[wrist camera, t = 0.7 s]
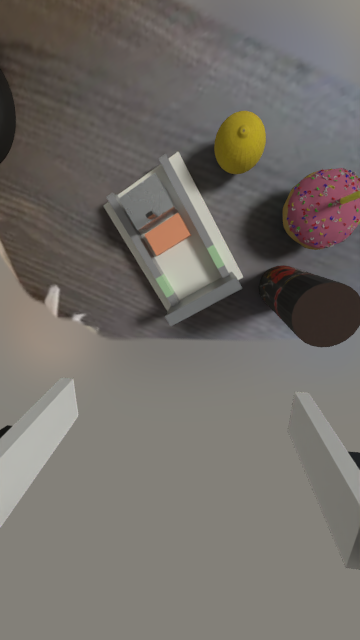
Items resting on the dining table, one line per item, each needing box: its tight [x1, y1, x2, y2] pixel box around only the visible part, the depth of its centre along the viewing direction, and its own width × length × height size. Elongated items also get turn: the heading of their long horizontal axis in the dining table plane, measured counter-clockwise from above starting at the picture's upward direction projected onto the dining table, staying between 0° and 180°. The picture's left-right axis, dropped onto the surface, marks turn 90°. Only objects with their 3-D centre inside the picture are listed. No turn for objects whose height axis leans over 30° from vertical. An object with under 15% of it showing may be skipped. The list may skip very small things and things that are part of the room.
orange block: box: [145, 213, 192, 256], centre depth 33 cm, size 3×5×3 cm, turn 121°
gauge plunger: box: [119, 173, 178, 232], centre depth 30 cm, size 4×5×7 cm
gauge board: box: [103, 152, 243, 326], centre depth 33 cm, size 18×12×7 cm, turn 30°
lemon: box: [214, 111, 266, 174], centre depth 28 cm, size 6×6×8 cm
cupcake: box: [283, 168, 360, 250], centre depth 28 cm, size 9×8×12 cm
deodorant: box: [259, 266, 360, 347], centre depth 29 cm, size 6×6×15 cm
